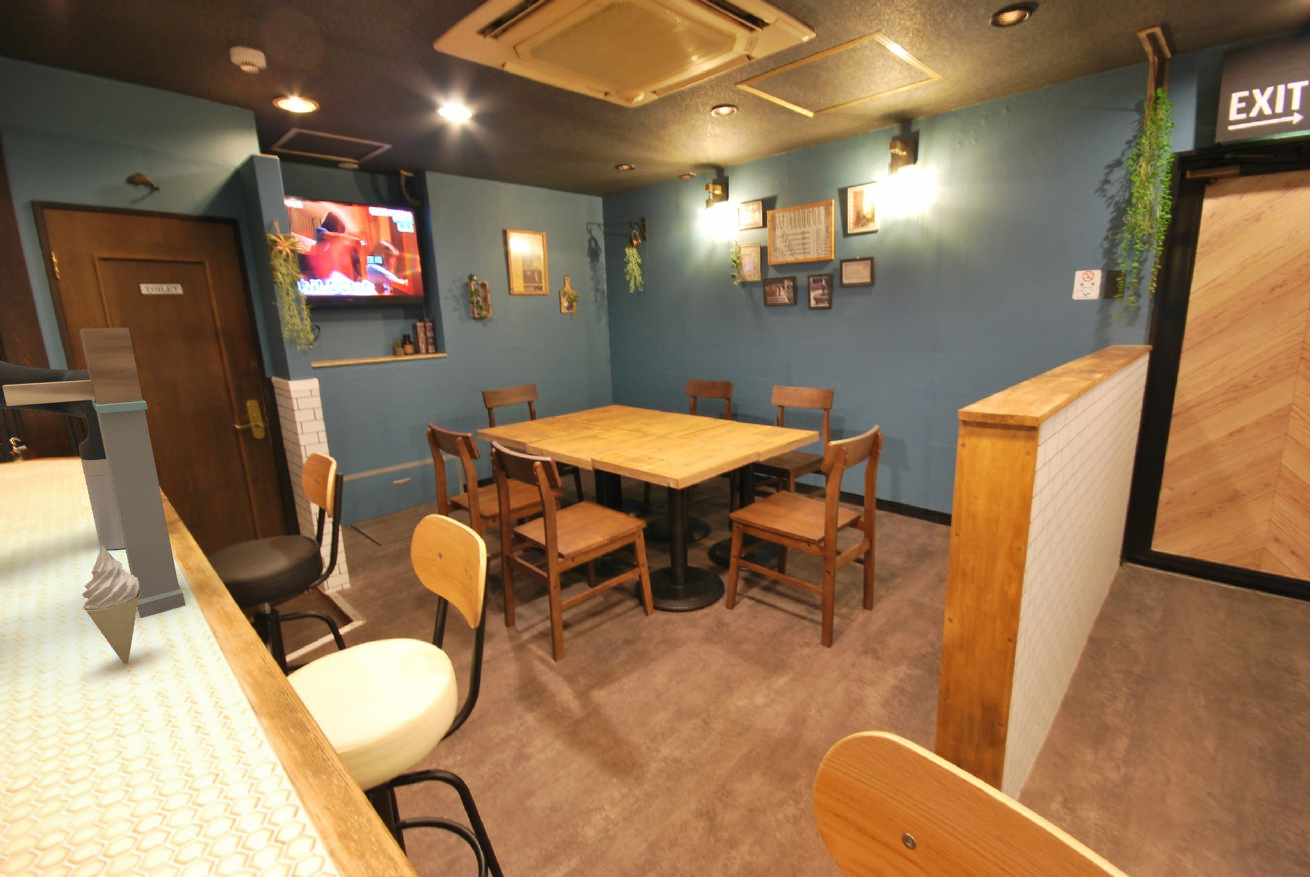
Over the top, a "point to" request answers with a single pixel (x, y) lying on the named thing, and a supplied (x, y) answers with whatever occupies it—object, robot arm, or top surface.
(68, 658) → the top surface
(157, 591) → the stand
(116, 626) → the ice cream cone
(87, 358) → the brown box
